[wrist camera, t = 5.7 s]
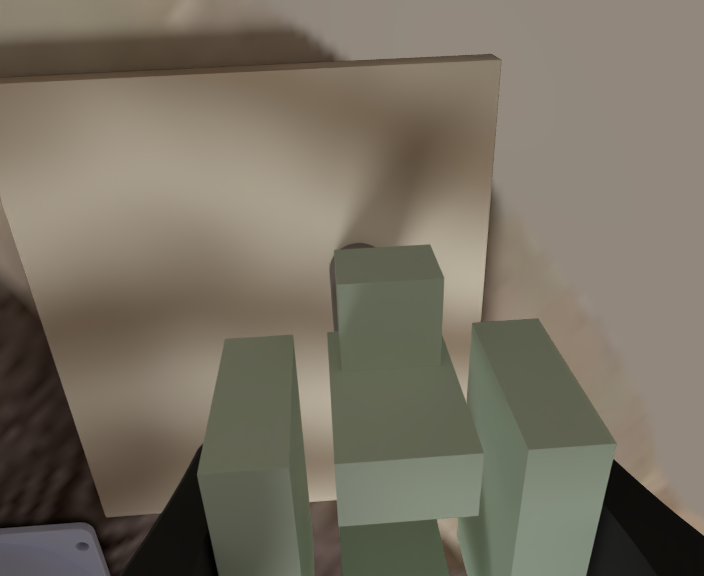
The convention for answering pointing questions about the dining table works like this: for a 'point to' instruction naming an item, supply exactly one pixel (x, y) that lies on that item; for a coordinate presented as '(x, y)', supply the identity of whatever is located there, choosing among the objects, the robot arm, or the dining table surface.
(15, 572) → the robot arm
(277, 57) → the dining table surface
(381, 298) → the green block stack
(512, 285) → the dining table surface
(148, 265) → the board
